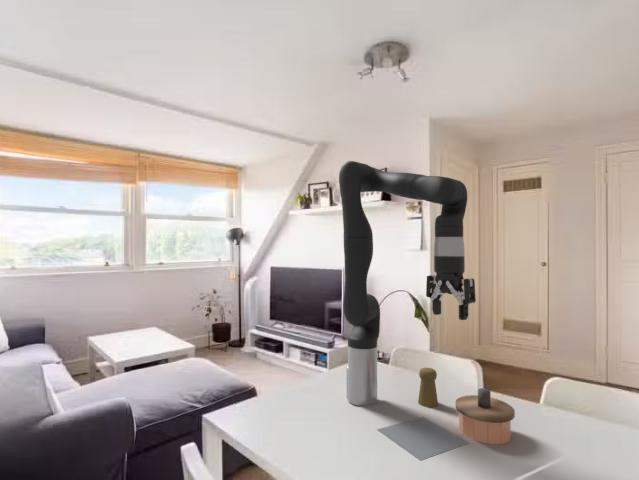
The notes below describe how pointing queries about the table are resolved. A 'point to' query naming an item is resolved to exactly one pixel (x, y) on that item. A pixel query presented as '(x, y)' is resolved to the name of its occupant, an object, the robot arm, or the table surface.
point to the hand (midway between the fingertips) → (449, 316)
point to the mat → (422, 437)
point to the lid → (485, 407)
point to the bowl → (485, 430)
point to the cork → (428, 388)
